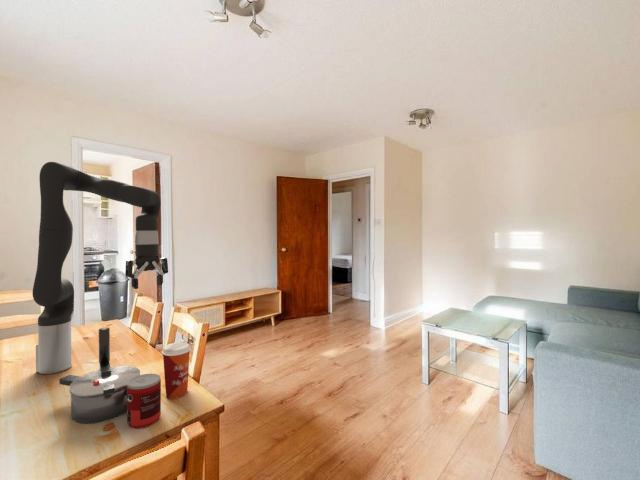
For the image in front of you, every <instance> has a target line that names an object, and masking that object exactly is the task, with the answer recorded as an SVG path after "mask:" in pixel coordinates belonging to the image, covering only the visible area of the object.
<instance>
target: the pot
mask: <svg viewBox="0 0 640 480" xmlns="http://www.w3.org/2000/svg"><path fill="white" fill-rule="evenodd" d="M81 376H82V375H81ZM81 376H80V375H73V374H67V375H66V376H63V377H61V378H59V383H58V384H59V385H62V386H66V387H67V386H69V387H70V384H71V383H72V382H73V381H74V380H76V379H77V378H79V377H81ZM70 412H71V413H70V416H71V417H70V418H71V420H72V421H73V422H75V423H76V424H82V425H85V424H86V425H87V424H90V425H91V424H97V423H101V422H102V423H103V422H106V421H110V420H113V419H116V418H119V417H120V416H123V415H125V414H127V387H126V388H123V389H121V390H118V391H115V392H114V393H110V394H106V395H100V396H92V397H79V396H74V395H72V394H71V393H70Z"/></svg>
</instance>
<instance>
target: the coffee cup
mask: <svg viewBox="0 0 640 480" xmlns="http://www.w3.org/2000/svg"><path fill="white" fill-rule="evenodd" d="M191 350H192V347H191V346H190V344H189V343H188V342H185V341H178V342H171V343H169V344H166V345H164V347H163V350H162V352H161V354H162V360H163V371H164V385H165V395H166V398H168V399H179V398H182V397H184V396H185V395H187V393H188V387H189V386H188V383H189V371H190V370H189V369H190V368H189V367H190V354H191V353H190V352H191Z"/></svg>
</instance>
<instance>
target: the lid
mask: <svg viewBox="0 0 640 480" xmlns="http://www.w3.org/2000/svg"><path fill="white" fill-rule="evenodd" d="M110 332H111V331H110V327H102V328H99V329H98V363H99V369H97V370H93V371H90V372H87V373H86V374H83V375H81V377H79V378H77V379H76V380H74V381H73V382H72V383H71V384H70V386H69V388H68V389H69V394H70V395H71V394H72V395H74V396H79V397H92V396H100V395H106V394H110V393H114V392H115V391H118V390H121V389H123V388H126V387H127V382H128V381H129V380H130V379H132V378H134V377H136V376H139V375H141V370H140V369H139V368H138V367H136V366H132V365H115V366H111V363H110V360H111V358H110V357H111V355H110V354H111V352H110V347H111V345H110V343H111V340H110V339H111V338H110V335H111V334H110Z"/></svg>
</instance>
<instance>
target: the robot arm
mask: <svg viewBox="0 0 640 480" xmlns="http://www.w3.org/2000/svg"><path fill="white" fill-rule="evenodd" d="M64 191H72V192H73V191H75V192H84V193H89V194H94V195H97V196H100V197H102V198H104V199H109V200H111V201H115V202H121V203H125V204H127V205H128V204H129V205H131V206H134V207H138V208H141V211H140V214H139V215H137V216H135V235H134V245H135V247H134V249H135V252H134V253H135V259H134V260H131V259H127V260H126V261H125V274H124V276H125V277H126V278H130V279H131V287H132V288H133V289H134V290H138V289H139V277H140V275H141V274H142V273H143V272H147V271H153V272H155V273H156V285H157V286H161V287H162V285H163V283H164V275H165V274H168V273H169V265H168V258H167V257H161V258H160V257H159V255H160V252H159V251H160V250H159V249H160V247H159V245H160V244H159V242H160V241H159V240H160V239H159V231H158V230H159V229H158V217H159V214H160V209H161V197H160V195H159V193H158V192H157V191H155V190H153V189H149V188H144V187H140V186H137V185H131V184H129V183H124V182H121V181H118V180H113V179H108V178H102V177H97V176H94V175H90V174H87V172H83V171H81V170H80V169H77V168H74V167H72V166H70V165H68V164H64V163H60V162H56V161H48V162H46V163H44V164H43V165H42V166H41V167H40V171H39V192H40V222H39V230H38V231H39V232H38V248H37V249H38V252H37V266H36V271H35V277H34V281H33V282H34V283H33V287H32V293H31V294H32V299H33V300H34V302H35V303H36V304H37V305H38V306H41V307H44V308H43V310H42V313H40V315H39V316H38V318H37V332H38V333H37V336H38V337H37V341H38V343H37V344H36V345H35V372H36V373H39V374H41V375H51V374H56V373H61V372H63V371H66V370H68V369H70V368H71V367H72V315H73V313H74V309H75V307H74V306H75V288H74V285H73V283H72V282H71V281H70V280H69V279H67V278H64V277H62V272H63V271H62V270H63V266H64V263H65V261H66V258H67V256H68V254H69V252H70V250H71V247H72V244H73V231H74V228H73V221H72V220H71V217H70V216H69V213H68V211H67V210H66V207H65V203H64ZM159 263H160V264H161V267H160V266H159ZM134 266H136V267H135V269H133V268H134ZM133 270H134V271H133Z"/></svg>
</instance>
